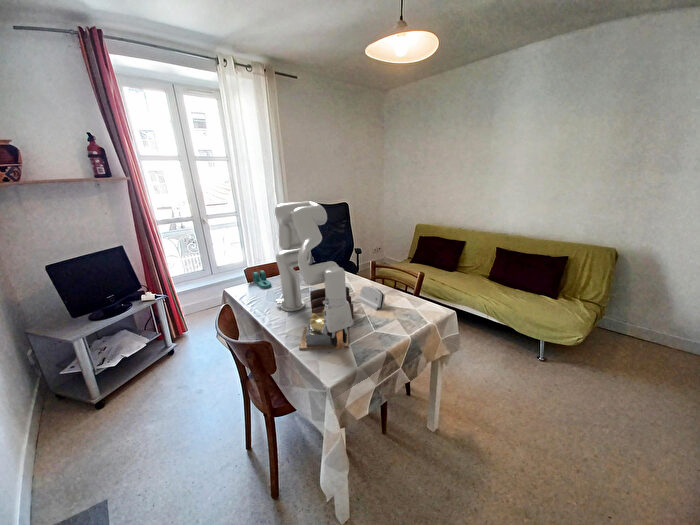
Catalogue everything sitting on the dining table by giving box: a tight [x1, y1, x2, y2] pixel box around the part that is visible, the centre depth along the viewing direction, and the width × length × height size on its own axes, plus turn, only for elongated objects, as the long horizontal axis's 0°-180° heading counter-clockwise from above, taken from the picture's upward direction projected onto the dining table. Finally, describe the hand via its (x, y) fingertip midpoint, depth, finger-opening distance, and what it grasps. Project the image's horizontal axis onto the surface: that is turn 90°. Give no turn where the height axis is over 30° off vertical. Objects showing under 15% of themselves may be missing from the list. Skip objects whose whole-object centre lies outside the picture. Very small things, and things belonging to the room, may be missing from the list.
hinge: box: [356, 285, 386, 311], centre depth 149 cm, size 17×5×10 cm, turn 37°
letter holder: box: [309, 286, 355, 320], centre depth 136 cm, size 10×20×14 cm, turn 101°
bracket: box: [252, 269, 272, 290], centre depth 183 cm, size 18×7×8 cm, turn 36°
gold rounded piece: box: [309, 310, 344, 350], centre depth 114 cm, size 21×12×8 cm, turn 30°
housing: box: [298, 320, 350, 350], centre depth 119 cm, size 20×16×6 cm
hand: (339, 342), depth 108 cm, fingers closed on gold rounded piece, 3 cm apart
